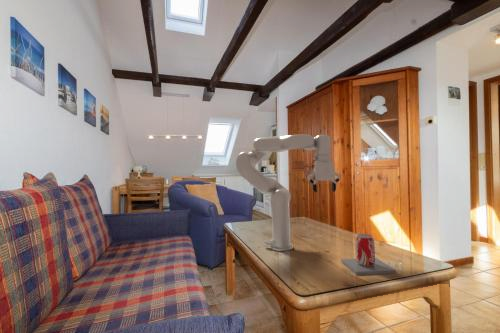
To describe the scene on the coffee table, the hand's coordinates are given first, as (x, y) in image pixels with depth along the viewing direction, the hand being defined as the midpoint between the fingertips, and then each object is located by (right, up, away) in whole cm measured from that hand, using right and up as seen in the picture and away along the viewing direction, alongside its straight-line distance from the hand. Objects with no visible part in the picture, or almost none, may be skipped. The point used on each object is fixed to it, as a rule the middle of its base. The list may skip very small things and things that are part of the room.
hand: (324, 191), depth 126 cm
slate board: (+11, -29, -23) cm, 39 cm away
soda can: (+10, -28, -23) cm, 38 cm away
